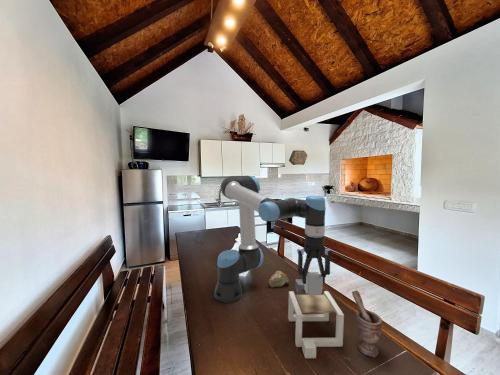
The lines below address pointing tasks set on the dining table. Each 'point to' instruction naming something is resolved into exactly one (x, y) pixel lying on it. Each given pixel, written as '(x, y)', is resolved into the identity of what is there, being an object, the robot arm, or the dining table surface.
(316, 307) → the trapdoor
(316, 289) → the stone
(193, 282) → the dining table surface
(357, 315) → the mortar and pestle
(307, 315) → the frame
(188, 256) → the dining table surface
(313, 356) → the pumice block
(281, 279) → the rock
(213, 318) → the dining table surface
